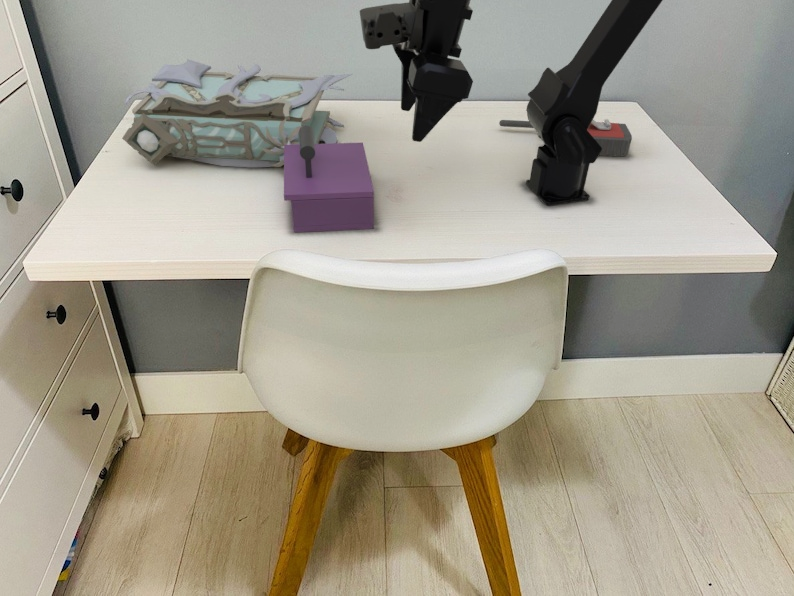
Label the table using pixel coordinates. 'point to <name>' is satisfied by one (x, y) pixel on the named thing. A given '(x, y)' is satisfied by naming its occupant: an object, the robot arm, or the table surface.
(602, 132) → the walkie-talkie
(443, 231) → the table surface
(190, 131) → the ornate book
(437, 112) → the robot arm
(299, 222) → the box
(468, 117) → the table surface
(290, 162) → the lid
